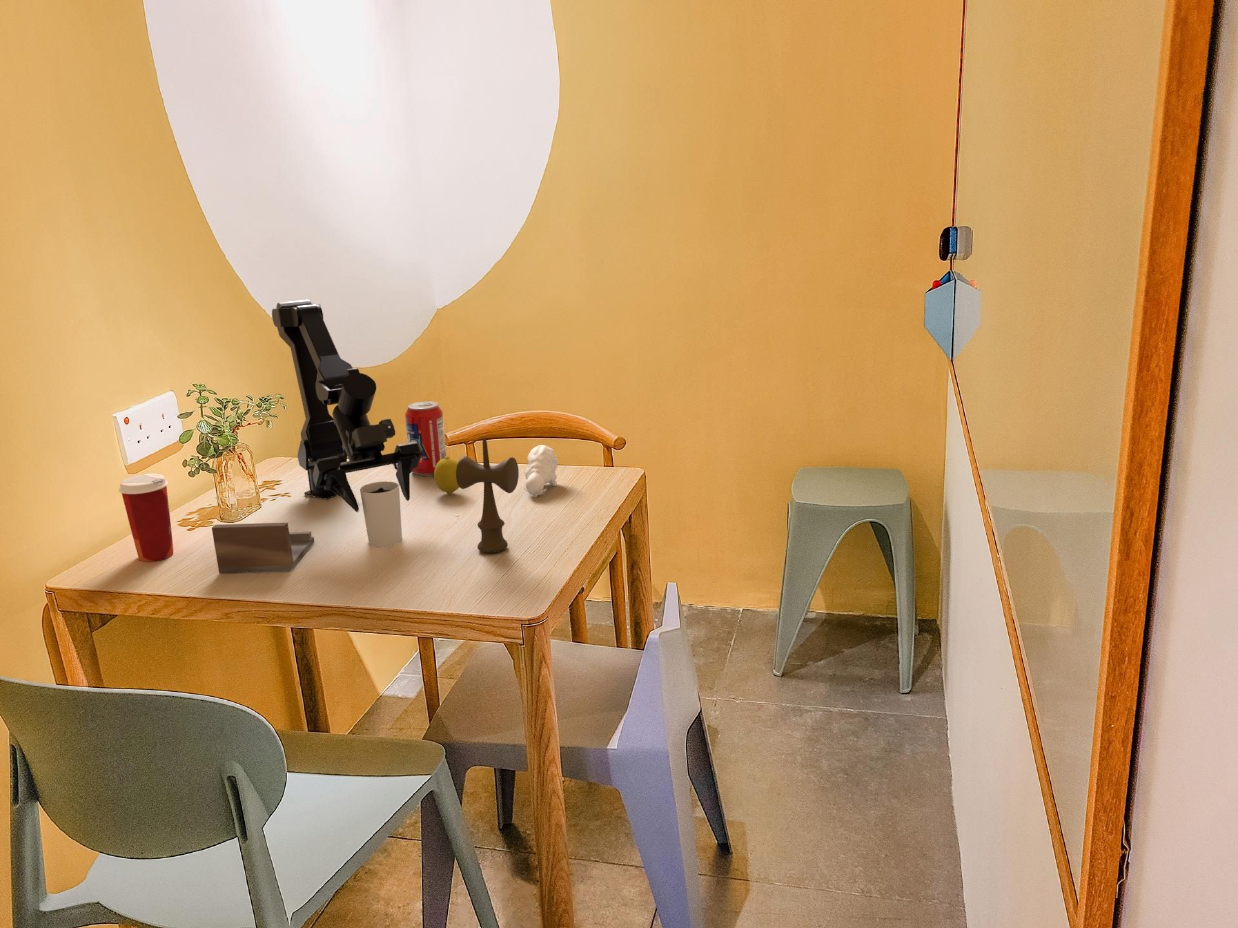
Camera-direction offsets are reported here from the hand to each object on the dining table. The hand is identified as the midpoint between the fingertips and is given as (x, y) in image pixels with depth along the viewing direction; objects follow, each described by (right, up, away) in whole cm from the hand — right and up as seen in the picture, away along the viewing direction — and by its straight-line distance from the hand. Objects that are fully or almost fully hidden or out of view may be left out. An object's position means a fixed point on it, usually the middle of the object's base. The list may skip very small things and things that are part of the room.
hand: (383, 504), depth 174 cm
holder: (-19, -9, -3) cm, 21 cm away
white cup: (0, -7, +3) cm, 7 cm away
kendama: (+19, -8, -3) cm, 21 cm away
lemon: (+7, +1, +26) cm, 27 cm away
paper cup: (-40, -9, 0) cm, 41 cm away
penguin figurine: (+25, +2, +27) cm, 37 cm away
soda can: (0, +5, +41) cm, 42 cm away
